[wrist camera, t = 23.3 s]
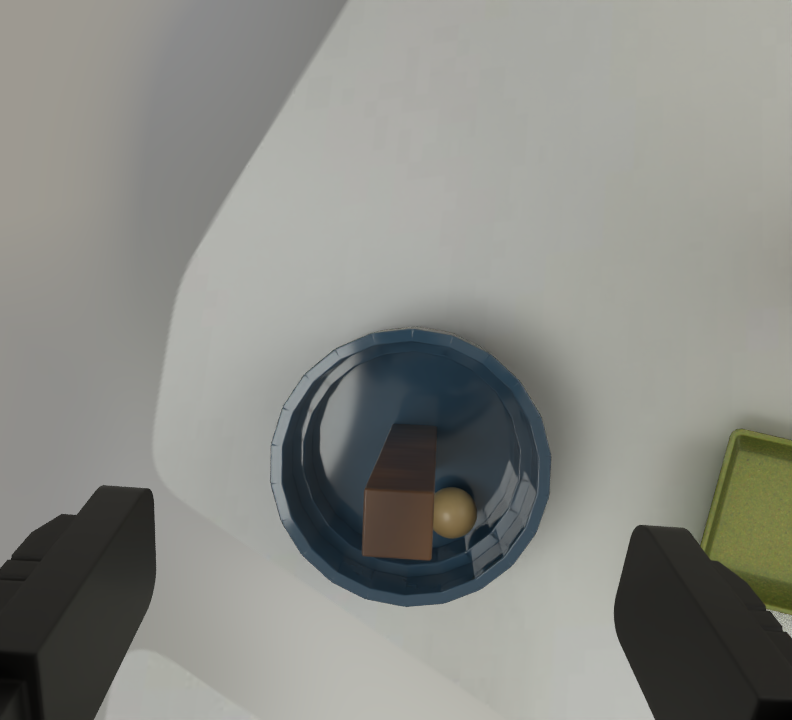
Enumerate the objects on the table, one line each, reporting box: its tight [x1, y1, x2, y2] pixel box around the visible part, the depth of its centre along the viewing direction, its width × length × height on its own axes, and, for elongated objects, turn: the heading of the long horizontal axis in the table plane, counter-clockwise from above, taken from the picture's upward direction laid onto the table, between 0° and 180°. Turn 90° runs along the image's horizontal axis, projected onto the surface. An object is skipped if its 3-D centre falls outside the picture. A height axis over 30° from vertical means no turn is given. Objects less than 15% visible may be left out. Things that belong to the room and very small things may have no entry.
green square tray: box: [700, 429, 792, 615], centre depth 34 cm, size 9×9×2 cm
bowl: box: [270, 327, 551, 607], centre depth 33 cm, size 13×13×5 cm
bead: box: [433, 487, 477, 539], centre depth 34 cm, size 3×3×3 cm
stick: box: [362, 424, 437, 560], centre depth 29 cm, size 2×2×13 cm
